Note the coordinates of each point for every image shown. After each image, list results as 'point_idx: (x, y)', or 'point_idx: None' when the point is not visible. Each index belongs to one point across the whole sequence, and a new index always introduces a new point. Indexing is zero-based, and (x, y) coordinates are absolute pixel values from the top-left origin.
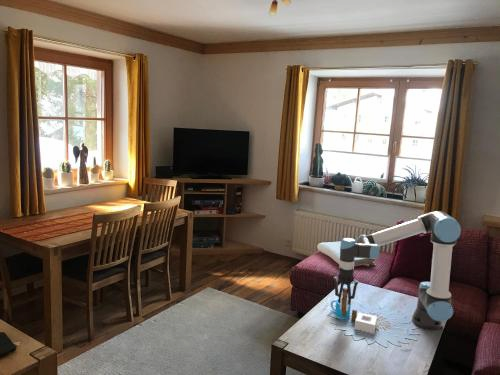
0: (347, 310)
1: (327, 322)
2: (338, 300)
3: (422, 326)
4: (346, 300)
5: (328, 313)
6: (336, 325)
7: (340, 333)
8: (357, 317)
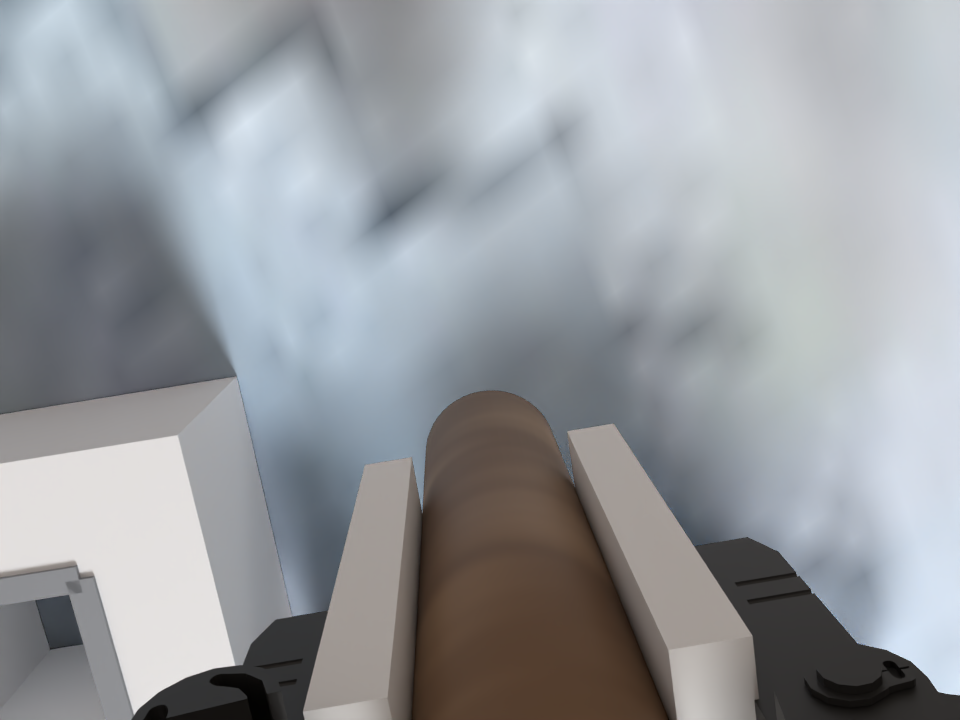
0: (363, 472)
1: (788, 293)
2: (799, 579)
3: None
4: (422, 691)
5: (881, 635)
6: (590, 292)
7: (404, 28)
8: (197, 604)
